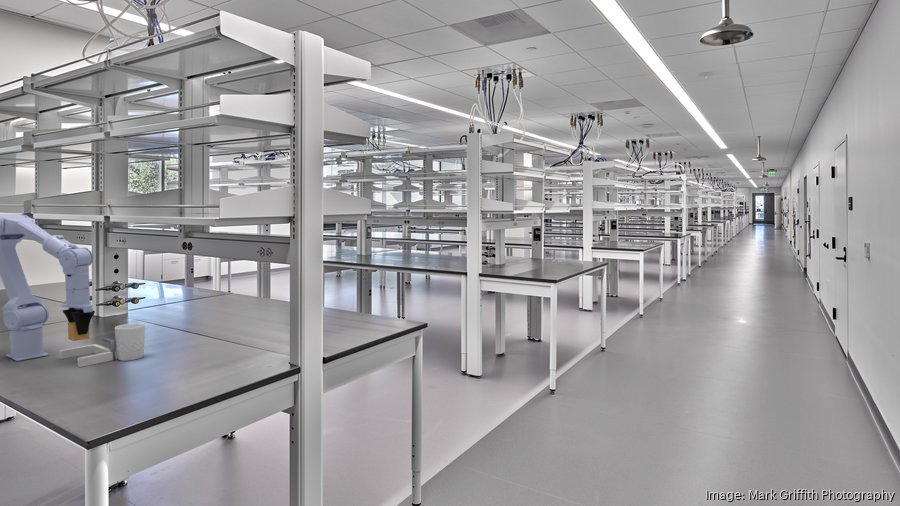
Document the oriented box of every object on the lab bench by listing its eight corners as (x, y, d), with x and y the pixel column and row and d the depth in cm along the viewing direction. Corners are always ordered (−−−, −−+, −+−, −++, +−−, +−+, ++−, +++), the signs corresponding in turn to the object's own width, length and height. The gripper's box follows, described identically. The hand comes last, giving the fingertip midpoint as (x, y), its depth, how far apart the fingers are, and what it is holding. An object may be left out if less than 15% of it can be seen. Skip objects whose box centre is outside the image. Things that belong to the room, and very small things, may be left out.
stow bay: (59, 358, 154) (58, 339, 153) (96, 351, 162) (95, 333, 161) (79, 367, 146) (78, 347, 145) (116, 359, 154) (116, 340, 153)
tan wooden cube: (68, 339, 151) (67, 322, 150) (83, 336, 154) (83, 320, 154) (73, 341, 149) (73, 324, 148) (89, 338, 152) (88, 322, 151)
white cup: (148, 353, 161) (147, 322, 160) (142, 360, 154) (141, 328, 153) (119, 355, 158) (118, 324, 157) (112, 362, 151) (111, 329, 150)
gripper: (52, 287, 151) (54, 332, 152) (71, 292, 143) (73, 339, 144) (79, 285, 157) (81, 327, 158) (99, 289, 149) (101, 334, 150)
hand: (79, 333), depth 151 cm, fingers closed on tan wooden cube, 4 cm apart
